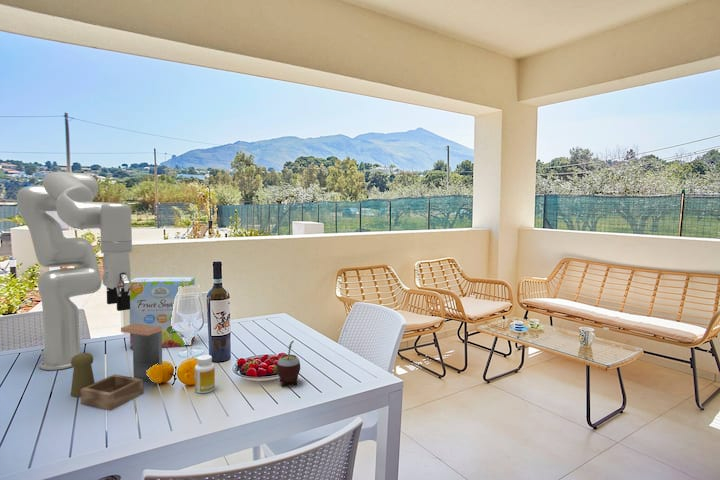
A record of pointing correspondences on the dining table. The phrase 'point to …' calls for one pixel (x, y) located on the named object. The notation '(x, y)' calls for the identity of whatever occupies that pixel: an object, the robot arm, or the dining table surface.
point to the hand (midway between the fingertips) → (118, 306)
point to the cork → (81, 373)
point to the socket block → (103, 399)
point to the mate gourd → (288, 368)
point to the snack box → (156, 305)
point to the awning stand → (145, 348)
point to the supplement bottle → (204, 374)
